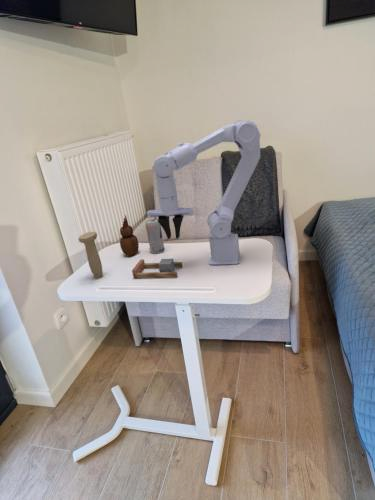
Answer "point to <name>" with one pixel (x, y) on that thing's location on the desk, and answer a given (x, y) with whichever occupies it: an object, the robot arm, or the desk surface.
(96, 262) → the handle
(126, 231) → the wooden figurine
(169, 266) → the grey cube
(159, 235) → the energy drink
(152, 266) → the channel
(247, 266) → the desk surface
